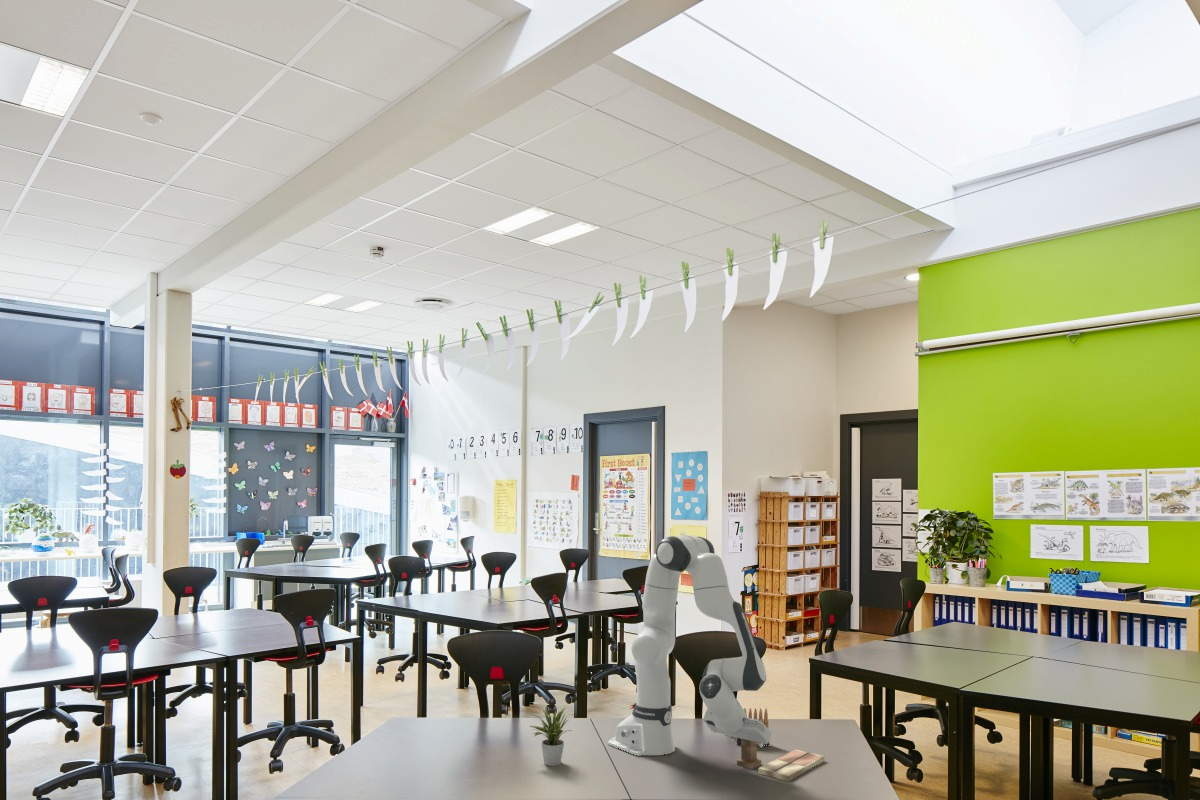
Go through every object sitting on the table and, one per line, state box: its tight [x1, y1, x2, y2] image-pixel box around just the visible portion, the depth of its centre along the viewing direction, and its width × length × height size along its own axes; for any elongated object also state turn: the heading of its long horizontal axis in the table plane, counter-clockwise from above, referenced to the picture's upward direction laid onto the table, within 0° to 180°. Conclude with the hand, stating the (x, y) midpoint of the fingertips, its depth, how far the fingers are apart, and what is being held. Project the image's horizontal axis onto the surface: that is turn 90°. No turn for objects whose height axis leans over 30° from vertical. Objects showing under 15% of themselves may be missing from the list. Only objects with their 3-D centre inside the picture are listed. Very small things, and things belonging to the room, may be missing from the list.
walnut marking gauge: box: [736, 739, 762, 770], centre depth 261 cm, size 6×6×11 cm
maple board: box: [757, 748, 825, 782], centre depth 259 cm, size 10×24×2 cm, turn 140°
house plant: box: [529, 707, 573, 767], centre depth 262 cm, size 14×14×16 cm
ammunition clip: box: [735, 707, 770, 747], centre depth 281 cm, size 11×2×12 cm, turn 89°
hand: (747, 742), depth 260 cm, fingers open, 8 cm apart
